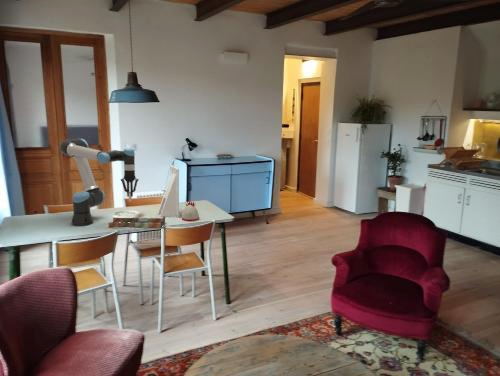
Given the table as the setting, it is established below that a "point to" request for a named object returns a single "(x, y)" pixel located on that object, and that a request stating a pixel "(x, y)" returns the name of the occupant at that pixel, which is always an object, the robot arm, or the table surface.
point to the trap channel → (134, 221)
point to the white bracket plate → (171, 196)
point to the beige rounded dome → (190, 212)
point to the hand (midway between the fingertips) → (130, 200)
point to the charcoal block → (143, 221)
